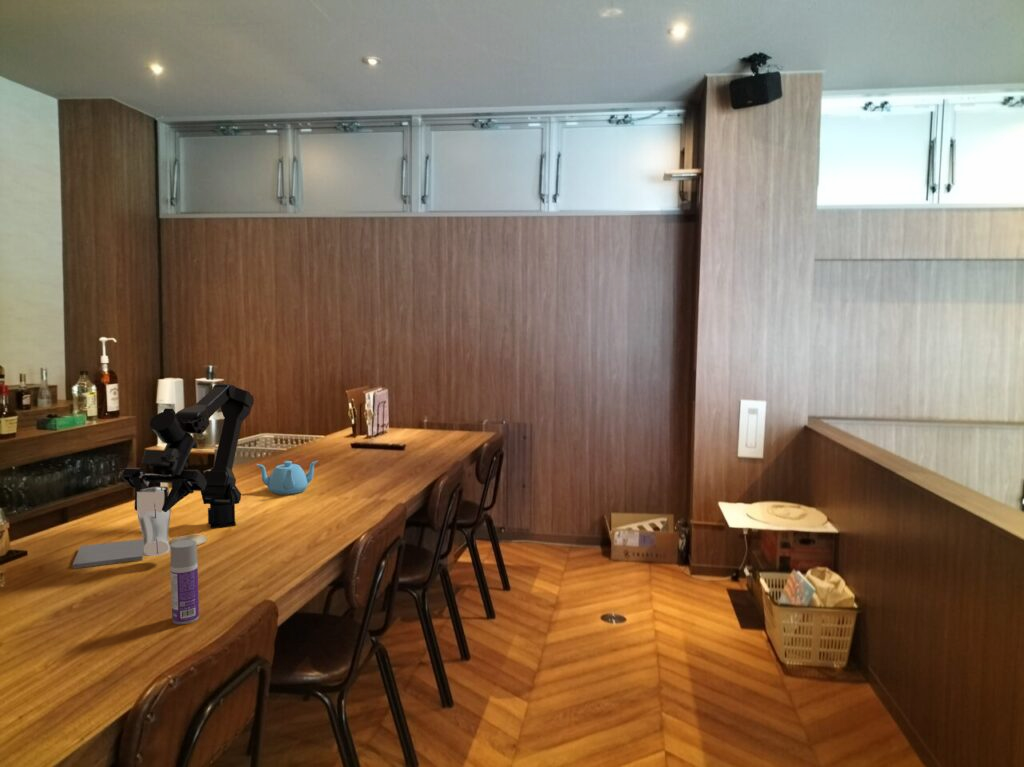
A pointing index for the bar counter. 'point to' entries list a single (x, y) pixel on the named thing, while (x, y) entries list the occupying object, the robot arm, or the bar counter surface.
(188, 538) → the metal coaster
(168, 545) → the beer glass
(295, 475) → the teapot
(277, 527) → the bar counter surface
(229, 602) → the bar counter surface
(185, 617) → the container
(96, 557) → the slate board
